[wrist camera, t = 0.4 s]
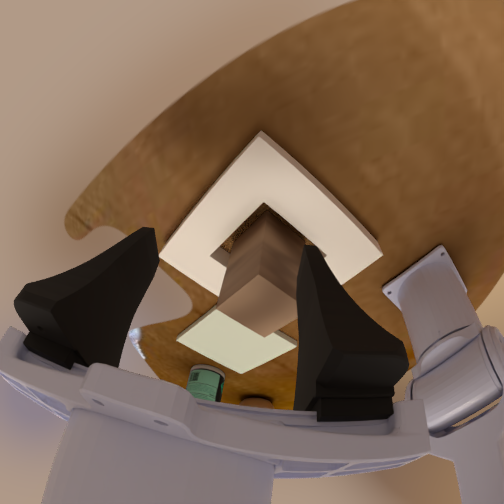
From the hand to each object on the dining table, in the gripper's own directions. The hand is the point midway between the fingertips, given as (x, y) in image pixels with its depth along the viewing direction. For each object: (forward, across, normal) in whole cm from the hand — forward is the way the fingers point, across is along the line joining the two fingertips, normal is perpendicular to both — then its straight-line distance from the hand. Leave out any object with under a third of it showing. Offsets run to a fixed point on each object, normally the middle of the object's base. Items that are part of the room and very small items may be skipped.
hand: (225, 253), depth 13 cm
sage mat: (+10, +1, +22) cm, 24 cm away
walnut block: (+10, -2, +6) cm, 12 cm away
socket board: (+10, -2, +6) cm, 12 cm away
